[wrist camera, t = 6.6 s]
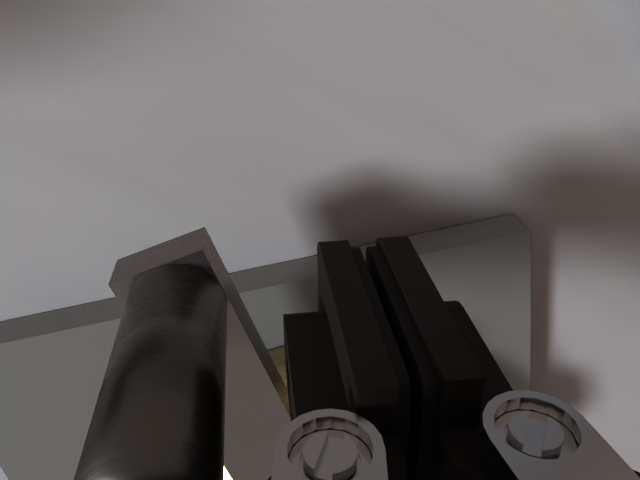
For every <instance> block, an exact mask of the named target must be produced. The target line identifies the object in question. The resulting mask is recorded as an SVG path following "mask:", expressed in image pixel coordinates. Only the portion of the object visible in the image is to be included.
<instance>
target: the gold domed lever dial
mask: <svg viewBox="0 0 640 480" xmlns="http://www.w3.org/2000/svg"><path fill="white" fill-rule="evenodd" d="M109 286H110V288H111V290H112V291H113V293H114V294H115V296H116V297H117V299H118V301H119V302H120V304H121V305H122V307H123V308H124V311H123V314H122V317H121V321H120V324H119V328H118V331H117V334H116V338H115V341H114V344H113V348H112V351H111V355H110V358H109V361H108V365H107V368H106V372H105V375H104V378H103V382H102V385H101V389H100V392H99V395H98V399H97V402H96V406H95V409H94V412H93V416H92V419H91V423H90V426H89V429H88V433H87V436H86V440H85V443H84V446H83V450H82V453H81V457H80V460H79V463H78V467H77V470H76V473H75V477H74V480H267V479H269V478H270V477H271V476H272V470H273V462H274V453H275V446H276V443H277V440H278V437H279V434H280V433H281V432H282V431H283V429H284V428H285V427H286V426H287V424H288V423H290V422H291V418H290V409H289V400H288V390H287V378H286V365H285V348H284V347H281V348H277V349H274V350H271V351H268V350H267V348H266V346H265V345H264V343H263V341H262V339H261V337H260V335H259V333H258V331H257V329H256V327H255V325H254V323H253V321H252V319H251V317H250V315H249V313H248V311H247V309H246V307H245V305H244V303H243V301H242V299H241V297H240V295H239V293H238V291H237V289H236V287H235V285H234V284H233V282H232V280H231V278H230V276H229V274H228V272H227V270H226V268H225V266H224V264H223V262H222V260H221V258H220V256H219V254H218V252H217V250H216V248H215V246H214V244H213V242H212V240H211V238H210V236H209V234H208V232H207V230H206V228H205V227H203V228H201V229H198V230H195V231H193V232H190V233H187V234H185V235H182V236H180V237H177V238H174V239H172V240H169V241H166V242H164V243H161V244H158V245H156V246H153V247H150V248H148V249H145V250H142V251H140V252H137V253H134V254H132V255H129V256H127V257H124V258H121V259H119V260H117V262H116V265H115V268H114V271H113V273H112V276H111V279H110V282H109Z"/></svg>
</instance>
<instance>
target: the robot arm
mask: <svg viewBox="0 0 640 480" xmlns="http://www.w3.org/2000/svg"><path fill="white" fill-rule="evenodd" d="M317 263H318V311H317V312H305V313H292V314H283V328H284V348H285V365H286V378H287V390H288V400H289V409H290V418H291V422H290V423H288V424H287V426H286V427H285V428H284V429H283V431H282V432H281V433H280V434H279V437H278V440H277V443H276V446H275V453H274V462H273V470H272V476H271V477H270V478H269V479H267V480H640V473H639V472H637V471H635V470H633V469H631V468H630V467H629V465H628V464H627V463H626V462H625V461H624V460H623V459H622V458H621V457H620V456H619V455H618V454H617V452H616V451H615V450H614V449H613V448H612V447H611V446H610V445H609V444H608V443H607V442H606V441H605V439H604V438H603V437H602V436H601V435H600V434H599V433H598V432H597V431H596V430H595V429H594V428H593V427H592V425H591V424H590V423H589V422H588V421H587V420H586V419H585V418H584V417H583V416H582V415H581V414H580V413H579V412H578V411H576V410H575V409H574V408H573V407H572V406H571V405H569V404H567V403H565V402H563V401H562V400H560V399H558V398H556V397H553V396H550V395H547V394H544V393H541V392H536V391H528V390H517V391H513V389H512V388H511V386H510V384H509V383H508V381H507V379H506V378H505V376H504V374H503V373H502V371H501V369H500V367H499V366H498V364H497V362H496V361H495V359H494V357H493V356H492V354H491V352H490V351H489V349H488V347H487V346H486V344H485V342H484V341H483V339H482V337H481V336H480V334H479V332H478V331H477V329H476V327H475V326H474V324H473V322H472V321H471V319H470V317H469V315H468V314H467V312H466V310H465V309H464V307H463V306H462V304H461V303H460V302H459V301H456V300H455V301H443V299H442V297H441V295H440V293H439V292H438V290H437V288H436V286H435V284H434V283H433V281H432V279H431V277H430V275H429V274H428V272H427V270H426V268H425V266H424V264H423V263H422V261H421V259H420V257H419V255H418V254H417V252H416V250H415V248H414V246H413V245H412V243H411V241H410V239H409V238H408V237H407V236H402V237H387V238H378V239H377V240H376V246H367V248H366V260H365V259H364V257H363V254H362V252H361V249H360V247H353V248H351V247H350V244H349V242H348V240H343V241H329V242H318V247H317Z"/></svg>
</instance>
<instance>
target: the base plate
mask: <svg viewBox="0 0 640 480" xmlns="http://www.w3.org/2000/svg"><path fill="white" fill-rule="evenodd" d="M407 237H408V238H409V239H410V241H411V243H412V245H413V246H414V248H415V250H416V252H417V254H418V255H419V257H420V259H421V261H422V263H423V264H424V266H425V268H426V270H427V272H428V274H429V275H430V277H431V279H432V281H433V283H434V284H435V286H436V288H437V290H438V292H439V293H440V295H441V297H442V299H443V301H455V300H456V301H459V302H460V303H461V304H462V306H463V307H464V309H465V310H466V312H467V314H468V315H469V317H470V319H471V321H472V322H473V324H474V326H475V327H476V329H477V331H478V332H479V334H480V336H481V337H482V339H483V341H484V342H485V344H486V346H487V347H488V349H489V351H490V352H491V354H492V356H493V357H494V359H495V361H496V362H497V364H498V366H499V367H500V369H501V371H502V373H503V374H504V376H505V378H506V379H507V381H508V383H509V384H510V386H511V388H512V389H513V391H517V390H528V391H530V344H531V231H530V230H529V229H528V228H527V227H526V226H525V225H524V224H523V223H522V222H521V221H520V220H519V219H518V218H517V217H516V216H515V215H514V214H510V215H506V216H501V217H496V218H491V219H487V220H482V221H477V222H472V223H468V224H463V225H458V226H453V227H448V228H444V229H439V230H434V231H429V232H425V233H420V234H415V235H410V236H407ZM367 246H376V243H372V244H368V245H363V246H358V247H360V249H361V252H362V254H363V257H364V259H365V260H366V248H367ZM229 276H230V278H231V280H232V282H233V284H234V285H235V287H236V289H237V291H238V293H239V295H240V297H241V299H242V301H243V303H244V305H245V307H246V309H247V311H248V313H249V315H250V317H251V319H252V321H253V323H254V325H255V327H256V329H257V331H258V333H259V335H260V337H261V339H262V341H263V343H264V345H265V346H266V348H267V350H268V351H271V350H274V349H277V348H281V347H284V328H283V314H292V313H305V312H317V311H318V263H317V255H315V256H311V257H306V258H301V259H296V260H292V261H287V262H282V263H277V264H273V265H268V266H263V267H258V268H254V269H249V270H244V271H239V272H235V273H230V274H229ZM123 311H124V308H123V307H122V305H121V304H120V302H119V301H118V299H117V297H116V298H111V299H106V300H101V301H97V302H92V303H87V304H82V305H78V306H73V307H68V308H63V309H59V310H54V311H49V312H44V313H40V314H35V315H30V316H25V317H21V318H16V319H11V320H6V321H2V322H0V466H1V468H2V469H3V471H4V473H5V474H6V476H7V478H8V479H9V480H74V477H75V473H76V470H77V467H78V463H79V460H80V457H81V453H82V450H83V446H84V443H85V440H86V436H87V433H88V429H89V426H90V423H91V419H92V416H93V412H94V409H95V406H96V402H97V399H98V395H99V392H100V389H101V385H102V382H103V378H104V375H105V372H106V368H107V365H108V361H109V358H110V355H111V351H112V348H113V344H114V341H115V338H116V334H117V331H118V328H119V324H120V321H121V317H122V314H123Z"/></svg>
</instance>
